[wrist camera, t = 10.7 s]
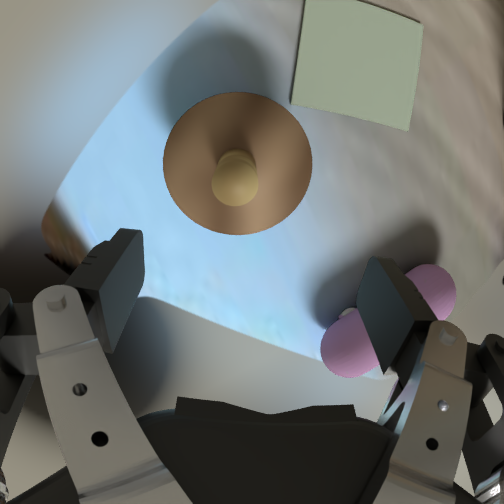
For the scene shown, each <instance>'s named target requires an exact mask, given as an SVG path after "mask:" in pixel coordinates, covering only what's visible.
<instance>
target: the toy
mask: <svg viewBox="0 0 504 504" xmlns="http://www.w3.org/2000/svg"><path fill="white" fill-rule="evenodd" d="M405 275H406V276H407V277H408V278H409V279H410V280H412V281H413V283H414V284H415V286H416V287H417V288H418V292H420V293H421V294H422V296H423V299H425V300H426V302H427V303H428V305H429V306H430V308H431V309H432V311H433V312H434V314H435V315H436V317H437V318H438V320H445V319H446V318H447V317H448V316H449V314H450V313H451V311H452V310H453V307H454V305H455V301H456V287H455V284H454V281H453V279H452V277H451V276H450V274H449V273H448V272H447V271H446V270H444V269H443V268H441V267H439V266H437V265H433V264H423V265H419V266H417V267H415V268H413V269H412V270H410V271H409V272H408V273H406V274H405ZM321 357H322V360H323V362H324V364H325V365H326V366H327V368H328V369H329V370H330V371H332V372H333V373H335V374H336V375H338V376H342V377H346V378H351V377H357V376H360V375H363V374H365V373H366V372H368V371H370V370H371V369H373V368H375V367H376V366H378V365H380V364H379V361H378V359H377V356H376V354H375V351H374V348H373V346H372V343H371V341H370V338H369V336H368V333H367V331H366V328H365V326H364V323H363V321H362V319H361V316H360V314H359V311H358V309H357V308H348V309H346V310H344V311H343V312H342V313H341V315H339V320H338V321H336V322H335V323H333V324H332V325H331V326H330V327H329V328H328V329H327V330H326V332H325V334H324V336H323V338H322V341H321Z"/></svg>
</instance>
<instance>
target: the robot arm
mask: <svg viewBox="0 0 504 504" xmlns="http://www.w3.org/2000/svg"><path fill="white" fill-rule="evenodd" d="M144 275H145V266H144V247H143V233H142V231H141V230H135V229H125V228H120V229H119V230H118V231H117V232H116V234H115V235H114V236H113V237H112V239H111V240H110V241H103V242H102V243H100V244H98V245H96V246H95V247H93V249H92V250H91V251H90V252H89V253H88V255H87V257H85V258H84V260H83V261H82V262H81V264H80V265H79V266H78V267H77V268H76V270H75V271H74V272H73V273H72V275H71V276H70V277H69V279H68V280H67V281H66V282H65V284H64V285H57V286H52V287H49V288H46V289H45V290H43V291H41V292H40V293H39V294H38V295H37V296H36V297H35V299H34V301H33V303H17V304H13V303H12V300H11V297H10V294H9V292H8V291H7V290H5V289H2V288H0V504H504V338H502V337H501V336H499V335H496V334H489V335H487V336H486V338H485V339H484V341H483V342H482V344H481V345H477V344H473V343H469V342H467V339H466V336H465V335H464V333H463V332H462V331H461V330H460V329H459V328H458V327H457V326H455V325H454V324H452V323H450V322H448V321H444V320H438V318H437V317H436V315H435V314H434V312H433V311H432V309H431V308H430V306H429V305H428V303H427V302H426V300H425V299H423V296H422V294H421V293H420V292H418V288H417V287H416V286H415V284H414V283H413V281H412V280H410V279H409V278H408V277H407V276H406V275H404V274H403V273H402V272H401V270H400V269H399V267H398V266H397V265H396V263H395V262H394V260H393V259H391V258H383V257H375V256H373V257H371V258H370V260H369V262H368V264H367V267H366V270H365V273H364V276H363V279H362V282H361V284H360V287H359V290H358V293H357V299H356V304H357V309H358V311H359V314H360V316H361V319H362V321H363V323H364V326H365V328H366V331H367V333H368V336H369V338H370V341H371V343H372V346H373V348H374V351H375V354H376V356H377V359H378V361H379V364H380V367H381V369H382V372H383V375H396V374H397V375H398V377H399V378H398V379H397V381H396V382H395V384H394V386H393V388H392V390H391V393H390V395H389V397H388V399H387V402H386V404H385V406H384V408H383V410H382V412H381V415H380V417H379V419H378V421H377V422H373V421H370V420H368V419H364V418H360V417H356V413H355V409H354V405H353V404H352V405H326V406H310V407H306V408H302V409H297V410H292V411H288V412H283V413H278V414H264V413H260V412H256V411H253V410H249V409H245V408H242V407H238V406H235V405H231V404H228V403H225V402H219V401H210V400H201V399H193V398H185V397H177V403H176V408H175V409H168V410H162V411H157V412H153V413H149V414H146V415H144V416H142V417H139V418H137V419H136V418H135V416H134V415H133V413H132V411H131V409H130V407H129V405H128V403H127V401H126V400H125V397H124V396H123V393H122V392H121V390H120V387H119V385H118V383H117V381H116V379H115V377H114V375H113V373H112V370H111V368H110V366H109V364H108V361H107V359H106V357H105V355H104V352H107V353H113V351H114V349H115V347H116V344H117V342H118V339H119V337H120V335H121V332H122V330H123V328H124V326H125V323H126V321H127V319H128V317H129V314H130V312H131V310H132V308H133V306H134V303H135V301H136V299H137V297H138V295H139V293H140V290H141V288H142V286H143V282H144ZM36 375H40V379H41V384H42V388H43V392H44V396H45V400H46V404H47V408H48V411H49V415H50V418H51V422H52V425H53V428H54V431H55V434H56V437H57V440H58V443H59V446H60V449H61V451H62V454H63V457H64V460H65V462H66V465H67V466H65V467H64V468H62V469H60V470H59V471H57V472H56V473H54V474H53V475H51V476H50V477H48V478H47V479H45V480H43V481H42V482H40V483H38V484H37V485H35V486H34V487H32V488H31V489H29V490H27V491H25V492H24V493H22V494H20V495H19V496H17V497H15V498H13V499H12V500H10V501H8V502H7V503H6V499H7V498H8V496H9V492H8V489H7V487H6V480H5V476H4V473H3V471H2V469H1V466H2V462H3V459H4V456H5V453H6V450H7V447H8V444H9V441H10V438H11V436H12V433H13V430H14V427H15V425H16V422H17V419H18V417H19V414H20V412H21V409H22V407H23V404H24V402H25V399H26V397H27V395H28V393H29V390H30V388H31V386H32V383H33V381H34V379H35V376H36ZM493 387H494V389H495V391H496V393H497V395H498V397H499V399H500V401H501V403H502V407H503V413H502V416H501V418H500V420H499V421H498V422H497V423H496V424H495V425H493V423H492V421H491V418H490V416H489V414H488V411H487V409H486V407H485V404H484V402H483V399H484V397H485V396H486V395H487V394H488V393H489V391H490V390H491V389H492V388H493ZM461 450H462V452H463V455H464V458H465V462H466V465H467V468H468V472H469V475H470V479H471V482H472V486H473V490H474V494H475V496H474V497H473V496H472V495H471V494H470V493H468V492H467V491H466V490H464V489H463V488H462V487H460V486H459V485H458V484H456V483H455V482H454V478H455V474H456V470H457V467H458V463H459V459H460V455H461Z"/></svg>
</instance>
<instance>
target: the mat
mask: <svg viewBox="0 0 504 504" xmlns="http://www.w3.org/2000/svg"><path fill="white" fill-rule="evenodd" d="M422 36H423V25H422V24H420V23H417V22H415V21H413V20H410V19H408V18H405V17H403V16H400V15H398V14H395V13H392V12H390V11H387V10H384V9H381V8H379V7H376V6H373V5H370V4H367V3H363V2H360V1H357V0H305V7H304V14H303V21H302V29H301V36H300V43H299V50H298V57H297V64H296V70H295V77H294V84H293V91H292V97H291V105H297V106H303V107H309V108H314V109H319V110H324V111H329V112H334V113H339V114H343V115H348V116H352V117H356V118H360V119H364V120H368V121H372V122H376V123H380V124H383V125H387V126H390V127H394V128H397V129H401V130H404V131H407V132H408V129H409V124H410V119H411V114H412V108H413V103H414V97H415V91H416V84H417V78H418V71H419V63H420V55H421V46H422Z"/></svg>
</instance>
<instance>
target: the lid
mask: <svg viewBox="0 0 504 504" xmlns="http://www.w3.org/2000/svg"><path fill="white" fill-rule="evenodd" d="M163 172H164V178H165V182H166V185H167V188H168V190H169V193H170V195H171V197H172V198H173V200H174V202H175V203H176V205H177V206H178V207H179V208H180V210H181V211H182V212H183V213H184V214H185V215H186V216H187V217H189V218H190V219H191V220H193V221H194V222H195V223H197V224H199V225H201V226H202V227H204V228H207V229H209V230H212V231H215V232H218V233H223V234H229V235H245V234H252V233H257V232H260V231H263V230H266V229H268V228H271V227H273V226H275V225H276V224H278V223H280V222H281V221H283V220H284V219H285V218H286V217H288V216H289V215H290V214H291V213H292V212H293V211H294V210H295V209H296V207H297V206H298V205H299V203H300V202H301V200H302V199H303V197H304V195H305V193H306V191H307V188H308V186H309V183H310V179H311V173H312V154H311V148H310V145H309V141H308V138H307V136H306V134H305V132H304V130H303V128H302V127H301V125H300V124H299V122H298V121H297V120H296V119H295V117H294V116H293V115H292V114H291V113H290V112H289V111H288V110H286V109H285V108H284V107H283V106H281V105H280V104H278V103H277V102H275V101H273V100H271V99H269V98H266V97H263V96H260V95H257V94H252V93H246V92H230V93H223V94H219V95H215V96H212V97H209V98H207V99H205V100H203V101H201V102H199V103H197V104H196V105H194V106H193V107H192V108H190V109H189V110H188V111H187V112H186V113H185V114H184V115H183V116H181V118H180V119H179V120H178V121H177V123H176V124H175V126H174V127H173V129H172V131H171V132H170V135H169V137H168V139H167V142H166V146H165V150H164V156H163Z"/></svg>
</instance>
